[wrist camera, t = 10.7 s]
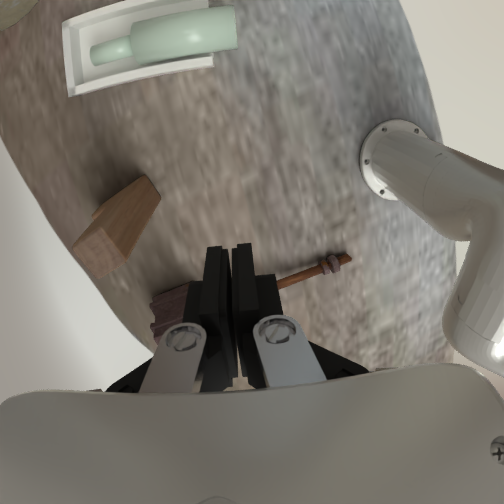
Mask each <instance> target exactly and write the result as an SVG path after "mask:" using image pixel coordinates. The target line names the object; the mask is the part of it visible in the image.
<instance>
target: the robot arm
mask: <svg viewBox="0 0 504 504" xmlns="http://www.w3.org/2000/svg"><path fill="white" fill-rule="evenodd" d="M382 128H383V130H382ZM414 129H415V131H414ZM365 159H366V161H365V162H364V160H365ZM360 170H361V173H362V177H363V179H364V181H365V183H366V184H367V186H368V187H369V188H370V189H371V190H372V191H373V192H374V193H375V194H377V195H378V196H380V197H382V198H384V199H387V200H393V201H396V200H400V201H401V202H403V203H404V204H405V205H406V206H408V207H409V208H410V209H411V210H412V211H414V212H415V213H416V214H417V215H418V216H419V217H421V218H422V219H423V220H424V221H425V222H426V223H428V224H429V225H430V226H431V227H432V228H434V229H435V230H436V231H437V232H438V233H439V234H441V235H442V236H444V237H446V238H448V239H450V240H454V241H470V245H469V247H468V251H467V253H466V257H465V260H464V262H463V265H462V267H461V270H460V272H459V275H458V277H457V280H456V282H455V284H454V287H453V289H452V291H451V294H450V296H449V299H448V301H447V303H446V306H445V309H444V312H443V317H442V328H443V332H444V334H445V337H446V339H447V340H448V342H449V343H450V344H451V346H452V347H453V348H454V349H455V350H456V351H458V352H459V353H460V354H461V355H463V356H464V357H466V358H467V359H469V360H470V361H472V362H474V363H476V364H477V365H479V366H481V367H483V368H485V369H487V370H489V371H491V372H493V373H495V374H497V375H499V376H502V377H504V170H502V169H499V168H496V167H494V166H491V165H489V164H487V163H484V162H482V161H479V160H477V159H475V158H473V157H470V156H468V155H466V154H464V153H461V152H459V151H456V150H454V149H451V148H449V147H447V146H444V145H442V144H440V143H437V142H434V141H432V140H429V139H428V137H427V136H426V134H425V133H424V132H423V130H422V129H421V128H420V127H418V126H417V125H415V124H414V123H411V122H409V121H405V120H400V119H393V120H388V121H385V122H383V123H381V124H379V125H378V126H376V127H375V128H374V129H373V130H372V131H371V132H370V133H369V134H368V136H367V137H366V139H365V141H364V143H363V145H362V149H361V153H360ZM380 190H381V191H380ZM237 346H238V352H239V358H240V364H241V370H242V376H243V377H248V383H249V384H250V385H251V386H253V387H254V388H256V389H249V390H236V391H223V390H225V389H226V388H227V387H233V381H232V378H236V377H238V359H237ZM0 504H504V400H503V399H502V397H501V396H500V394H499V393H498V391H497V390H496V389H495V387H494V386H493V385H492V384H491V382H490V381H489V380H488V379H487V378H486V377H485V376H484V375H483V374H481V373H480V372H479V371H477V370H476V369H474V368H471V367H468V366H465V365H460V364H452V363H425V364H417V365H409V366H404V367H397V368H376V370H375V371H368V370H367V369H366V368H364V367H363V366H361V365H359V364H357V363H355V362H353V361H350V360H348V359H346V358H344V357H342V356H340V355H337V354H335V353H333V352H331V351H329V350H327V349H325V348H322V347H320V346H318V345H316V344H314V343H312V342H310V341H308V340H307V338H306V336H305V334H304V332H303V330H302V328H301V326H300V324H299V323H298V322H297V321H296V320H295V319H293V318H292V317H289V316H286V315H283V310H282V306H281V301H280V296H279V291H278V286H277V281H276V277H275V274H268V275H258V276H255V272H254V263H253V254H252V246H251V243H244V244H237V248H232V276H231V269H230V262H229V254H228V249H222V246H214V247H207V253H206V261H205V268H204V275H203V281H194V282H190V283H189V286H188V292H187V297H186V303H185V308H184V314H183V320H182V323H180V324H177V325H174V326H172V327H170V328H169V329H168V330H167V331H165V332H164V334H163V335H162V337H161V339H160V342H159V344H158V346H157V349H156V351H155V354H154V356H153V357H152V358H151V359H149V360H148V361H146V362H145V363H143V364H142V365H140V366H139V367H138V368H136V369H134V370H133V371H131V372H130V373H129V374H127V375H126V376H124V377H122V378H121V379H119V380H118V381H116V382H115V383H113V384H112V385H111V386H110V387H109V388H108V389H107V390H106V391H105V392H103V391H102V390H101V389H96V390H89V391H74V390H35V391H28V392H24V393H21V394H17V395H15V396H12V397H10V398H8V399H6V400H5V401H4V402H2V403H1V405H0Z"/></svg>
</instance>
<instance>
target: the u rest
mask: <svg viewBox="0 0 504 504" xmlns="http://www.w3.org/2000/svg"><path fill="white" fill-rule="evenodd" d="M202 8H209V2H208V0H125V1H122V2H118V3H115V4H111V5H108V6H105V7H102V8H99V9H96V10H93V11H90V12H87V13H84V14H81V15H79V16H76V17H73V18H71V19H68V20H66V21H63V22H62V36H63V50H64V62H65V72H66V81H67V89H68V97H73V96H80V95H83V94H87V93H90V92H93V91H97V90H100V89H104V88H108V87H112V86H116V85H119V84H124V83H128V82H132V81H136V80H141V79H146V78H150V77H155V76H161V75H166V74H171V73H177V72H183V71H190V70H197V69H204V68H212V67H215V66H214V56H213V52H209V53H202V54H195V55H189V56H183V57H177V58H172V59H167V60H162V61H157V62H153V63H148V64H144V65H139V64H138V63H137V62H136V60H135V58H134V56H131V57H127V58H123V59H119V60H116V61H112V62H109V63H105V64H102V65H99V66H94V65H93V64H92V62H91V59H90V48H91V46H93V45H96V44H99V43H103V42H106V41H109V40H112V39H116V38H119V37H123V36H126V35H130V30H131V25H132V23H134V22H138V21H142V20H146V19H150V18H154V17H159V16H163V15H168V14H173V13H178V12H184V11H190V10H196V9H202Z"/></svg>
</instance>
